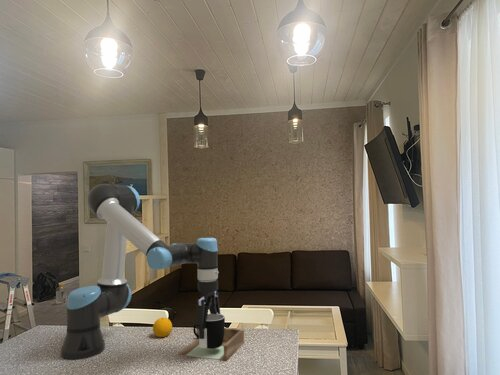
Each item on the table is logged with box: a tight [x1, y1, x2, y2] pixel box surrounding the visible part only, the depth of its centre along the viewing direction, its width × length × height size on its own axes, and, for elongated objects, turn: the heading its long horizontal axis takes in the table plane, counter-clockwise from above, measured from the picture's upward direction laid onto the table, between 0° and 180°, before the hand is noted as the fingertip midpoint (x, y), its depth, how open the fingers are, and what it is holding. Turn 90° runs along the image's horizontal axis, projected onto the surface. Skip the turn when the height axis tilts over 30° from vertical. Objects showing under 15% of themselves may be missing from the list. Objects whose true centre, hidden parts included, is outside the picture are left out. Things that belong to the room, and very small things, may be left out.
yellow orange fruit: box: [152, 317, 173, 338], centre depth 148 cm, size 8×8×8 cm
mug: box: [192, 313, 226, 349], centre depth 127 cm, size 12×9×10 cm
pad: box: [186, 345, 224, 361], centre depth 127 cm, size 13×11×1 cm
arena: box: [176, 327, 245, 362], centre depth 130 cm, size 20×17×6 cm
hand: (209, 342), depth 127 cm, fingers closed on mug, 9 cm apart
